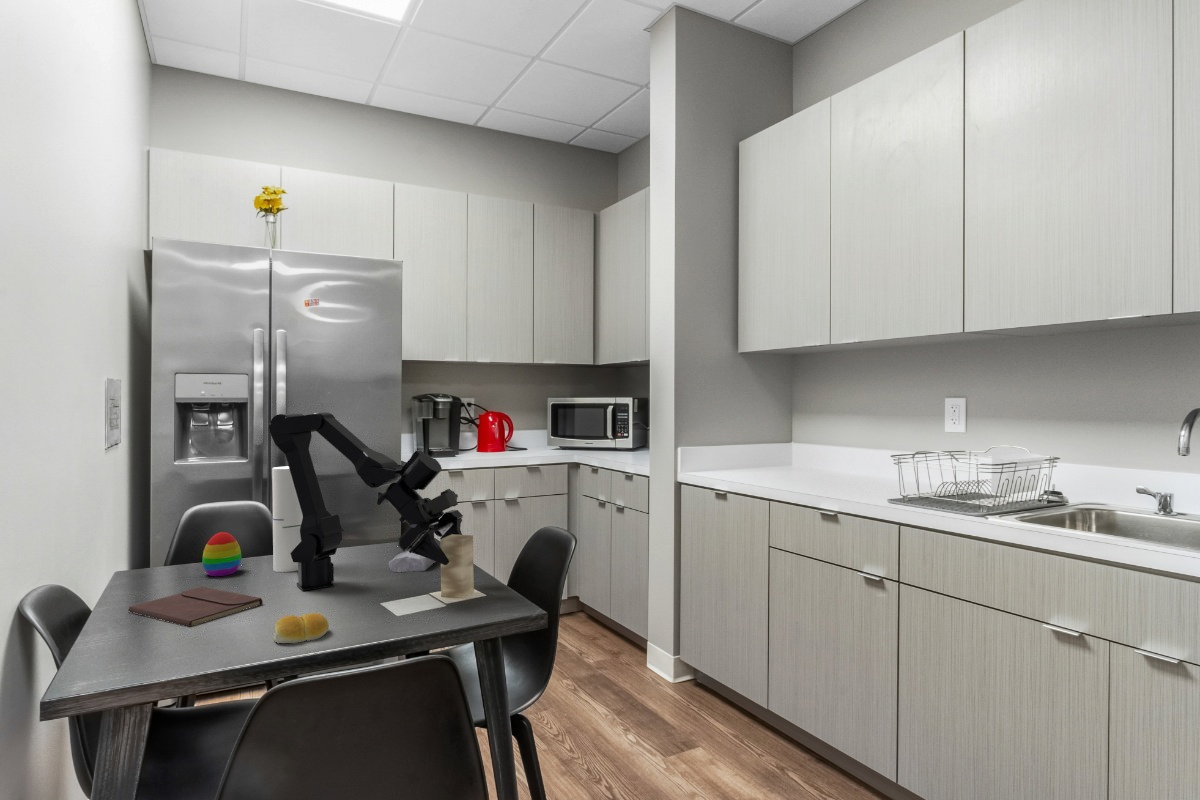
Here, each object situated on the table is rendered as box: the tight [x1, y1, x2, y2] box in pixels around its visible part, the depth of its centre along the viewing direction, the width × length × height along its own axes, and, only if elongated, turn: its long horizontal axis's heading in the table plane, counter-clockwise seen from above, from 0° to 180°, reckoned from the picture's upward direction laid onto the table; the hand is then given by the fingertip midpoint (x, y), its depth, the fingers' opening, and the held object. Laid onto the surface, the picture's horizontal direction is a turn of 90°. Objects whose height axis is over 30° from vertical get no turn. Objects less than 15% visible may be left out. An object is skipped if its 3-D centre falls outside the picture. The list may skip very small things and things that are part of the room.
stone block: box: [388, 550, 437, 572], centre depth 166 cm, size 12×5×10 cm
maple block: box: [439, 534, 475, 598], centre depth 141 cm, size 5×5×12 cm
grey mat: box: [379, 593, 447, 617], centre depth 134 cm, size 10×10×1 cm
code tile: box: [428, 588, 487, 605], centre depth 141 cm, size 9×9×1 cm
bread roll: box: [272, 612, 330, 644], centre depth 118 cm, size 8×9×4 cm
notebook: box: [127, 586, 263, 628], centre depth 134 cm, size 15×20×2 cm
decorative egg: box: [202, 531, 242, 577], centre depth 161 cm, size 8×8×10 cm
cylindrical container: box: [271, 465, 303, 573], centre depth 166 cm, size 7×7×25 cm
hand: (458, 558), depth 141 cm, fingers open, 9 cm apart
